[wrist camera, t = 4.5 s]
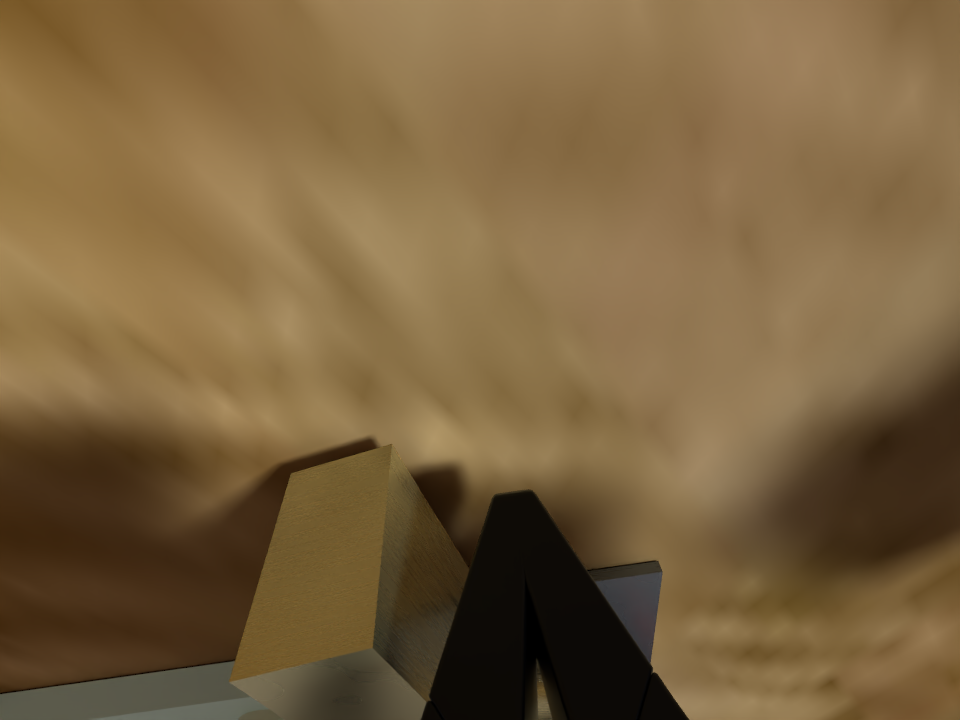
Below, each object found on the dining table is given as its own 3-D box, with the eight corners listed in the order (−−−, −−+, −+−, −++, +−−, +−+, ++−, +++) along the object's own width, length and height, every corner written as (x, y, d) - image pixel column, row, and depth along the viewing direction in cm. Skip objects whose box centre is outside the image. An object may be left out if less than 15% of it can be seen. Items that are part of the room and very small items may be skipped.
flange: (640, 703, 18) (643, 713, 18) (393, 737, 19) (392, 747, 18) (658, 561, 13) (662, 571, 13) (311, 610, 13) (308, 622, 13)
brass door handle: (619, 702, 17) (656, 848, 14) (445, 739, 17) (447, 884, 15) (499, 412, 9) (529, 610, 6) (195, 501, 10) (95, 714, 7)
